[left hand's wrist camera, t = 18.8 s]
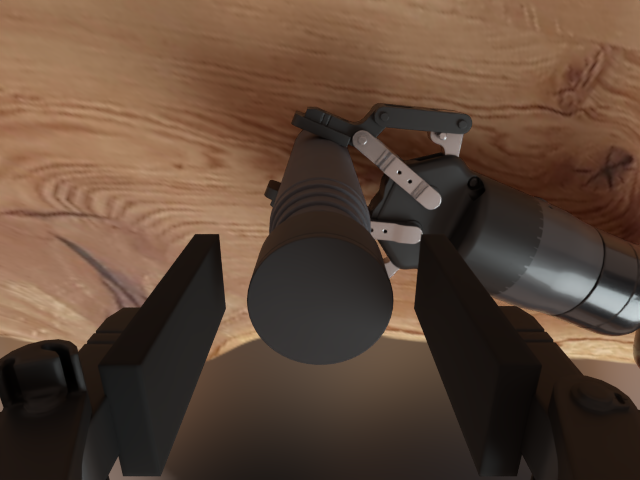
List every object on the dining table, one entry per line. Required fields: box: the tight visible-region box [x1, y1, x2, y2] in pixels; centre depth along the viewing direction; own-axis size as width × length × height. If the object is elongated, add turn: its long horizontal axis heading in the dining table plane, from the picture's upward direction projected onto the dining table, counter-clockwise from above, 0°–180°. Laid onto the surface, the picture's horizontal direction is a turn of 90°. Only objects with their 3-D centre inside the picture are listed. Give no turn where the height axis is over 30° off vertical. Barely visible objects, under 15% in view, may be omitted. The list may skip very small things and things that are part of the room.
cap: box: [247, 211, 393, 365], centre depth 13 cm, size 4×4×2 cm
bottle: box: [269, 130, 371, 234], centre depth 24 cm, size 4×4×24 cm
